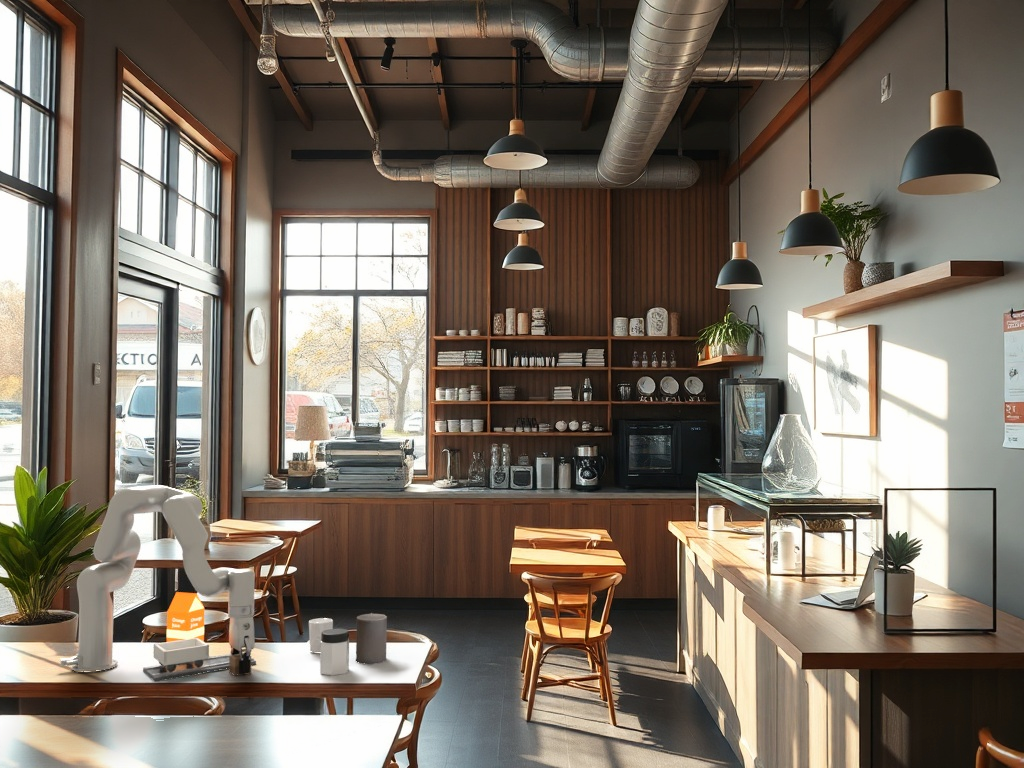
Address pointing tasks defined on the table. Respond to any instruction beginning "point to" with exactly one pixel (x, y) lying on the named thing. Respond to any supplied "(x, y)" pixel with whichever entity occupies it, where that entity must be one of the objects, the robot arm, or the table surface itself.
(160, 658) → the cart
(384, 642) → the pillar candle
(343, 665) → the jar
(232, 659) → the walnut block
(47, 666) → the table surface
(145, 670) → the track
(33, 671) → the table surface
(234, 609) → the robot arm
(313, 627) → the white cup
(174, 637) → the orange juice
